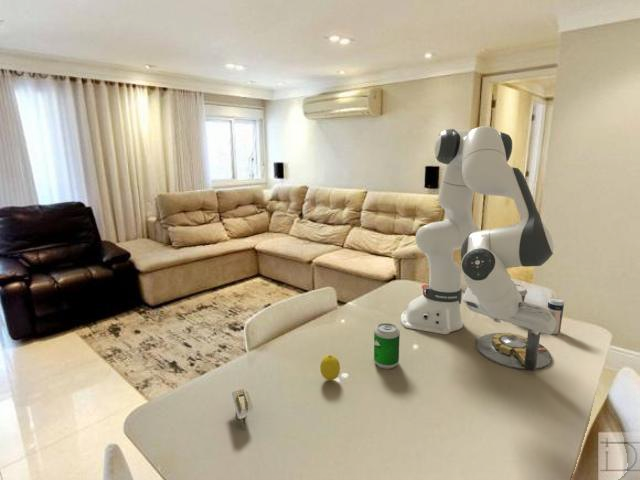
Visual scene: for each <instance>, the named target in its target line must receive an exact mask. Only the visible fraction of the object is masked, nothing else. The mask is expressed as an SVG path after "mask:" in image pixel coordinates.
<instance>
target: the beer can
mask: <svg viewBox="0 0 640 480" xmlns="http://www.w3.org/2000/svg"><path fill="white" fill-rule="evenodd" d="M564 306H565V301H564V300H563V299H561V298H558V297H550V298H549V300H547V308H546V309H547V310H548V311H549V312H550V313H551V314H552V315H553V317H554V318H555V320H556V322H557V323H556V327H555V329H554V331H553V333H552V334H551V335H558V334H560V333H561V329H562V328H561V327H562V321H563V314H564Z"/></svg>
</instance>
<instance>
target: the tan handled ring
mask: <svg viewBox="0 0 640 480" xmlns="http://www.w3.org/2000/svg"><path fill="white" fill-rule="evenodd" d="M527 329H528V328H527ZM500 333H501V335H500V334H496V335H494V336H493V338H492V345H493V346H494V348H495V349H499V351H500V352H502V353H505V354H507V355H511V354H512V350H513V354H514V356H516V357H518V358H519V360H520V361H521V362H522V364H523V365H524V368H525V369H527V370H526V371H531V372H535V371H536V370H537V369H536V364H537V356H538V348H539V344H540V339H541V332H539V333H538V335H536V334H533V333H531V332H530V329H528V330H527V336H526V337H525V336H523V335H520V334H517V333H516V334H513V333H512V332H500ZM512 334H513V335H514V336H515V337H518V338H521V339H523V340H524V341H525V342H526V348H525V349H524V348H511V347H509V346H506V345H503V344H502V343H501V337H503V336H513V335H512ZM526 338H527V340H526Z"/></svg>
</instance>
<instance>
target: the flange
mask: <svg viewBox="0 0 640 480" xmlns="http://www.w3.org/2000/svg"><path fill="white" fill-rule="evenodd" d="M501 333H502V332H491V333H487V334H483V335H481V336H480V337H479V338H478V339H477V340H476V341H477V342H476V349H477V350H478V352H479V353H480V354H481V355H482V356H483V357H484V358H486V359H487V360H489V361H491V362H493V363H496V364H497V365H501V366H504V367H506V368H509V369H516V370H522V371H523V370H525V371H528V370H527V369H525V368H524V365H523V364H522V362H521V361H520V360H519V358H518V357H516V356H514V354H513V350H512V354H511V355H507V354H505V353H502V352H500V351H499V349H495V348H494V346H493V345H492V338H493V336H494V335H496V334H500V335H501ZM511 334H512V335H513V336H503V337H501V343H502V344H503V345H506V346H509V347H511V348H524V349H525V348H526V342H525V341H524V340H523V339H521V338H518V337H515V336H514V335H515V334H513V333H511ZM526 340H527V337H526ZM551 358H552V356H551V353H550V351H549V350H548V349H547V347H545V346H544V345H542V344H541V343H539V348H538V356H537V364H536V370H539V369H540V370H541V369H544V368H546V367H547V366H549V365H550V364H551Z"/></svg>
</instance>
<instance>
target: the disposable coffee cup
mask: <svg viewBox="0 0 640 480" xmlns="http://www.w3.org/2000/svg"><path fill="white" fill-rule="evenodd" d="M514 284H515V285H516V287H517V289H518V291H519V293H520V294H521V297H522V301H523V302H525V298H526V295H527V294H528V291H527V288H526V287H525V286H524V285H522V284H519V283H514Z"/></svg>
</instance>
